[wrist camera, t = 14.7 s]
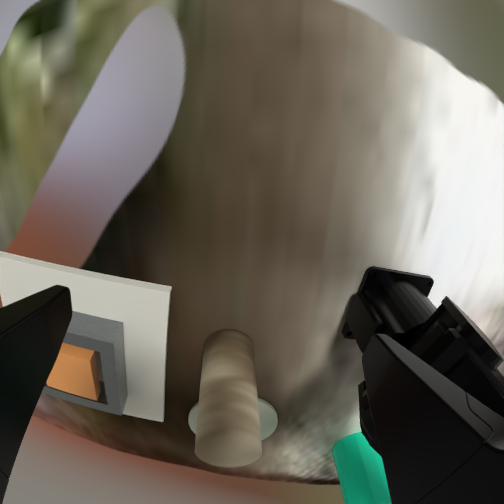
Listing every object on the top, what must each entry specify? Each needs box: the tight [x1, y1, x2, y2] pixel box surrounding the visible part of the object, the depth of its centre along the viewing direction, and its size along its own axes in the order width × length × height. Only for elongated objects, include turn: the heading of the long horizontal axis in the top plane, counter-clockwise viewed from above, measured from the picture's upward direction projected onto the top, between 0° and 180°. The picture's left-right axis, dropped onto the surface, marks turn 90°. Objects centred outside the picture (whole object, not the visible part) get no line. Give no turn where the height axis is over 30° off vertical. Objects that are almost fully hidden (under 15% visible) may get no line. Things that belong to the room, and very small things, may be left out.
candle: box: [332, 432, 391, 504], centre depth 28 cm, size 6×6×12 cm
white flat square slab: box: [0, 251, 172, 422], centre depth 23 cm, size 16×16×3 cm
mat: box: [188, 398, 278, 441], centre depth 29 cm, size 9×9×1 cm
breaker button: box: [46, 343, 101, 401], centre depth 22 cm, size 5×5×1 cm
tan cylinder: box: [195, 329, 262, 467], centre depth 21 cm, size 4×4×10 cm
